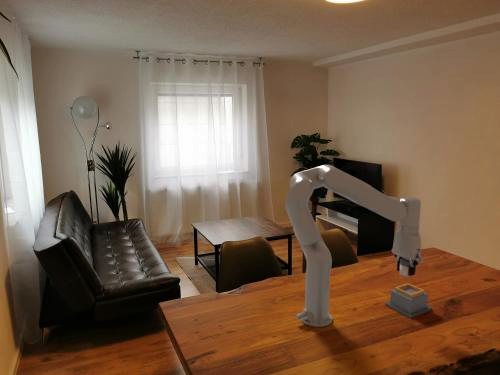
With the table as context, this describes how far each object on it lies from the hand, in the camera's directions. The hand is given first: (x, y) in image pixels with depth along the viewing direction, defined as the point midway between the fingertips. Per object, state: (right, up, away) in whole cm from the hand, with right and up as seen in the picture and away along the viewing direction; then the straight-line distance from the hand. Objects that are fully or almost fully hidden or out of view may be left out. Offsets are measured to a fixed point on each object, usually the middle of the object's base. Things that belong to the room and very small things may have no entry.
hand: (405, 272), depth 156 cm
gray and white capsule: (0, -1, 0) cm, 1 cm away
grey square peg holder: (+6, -18, +12) cm, 22 cm away
